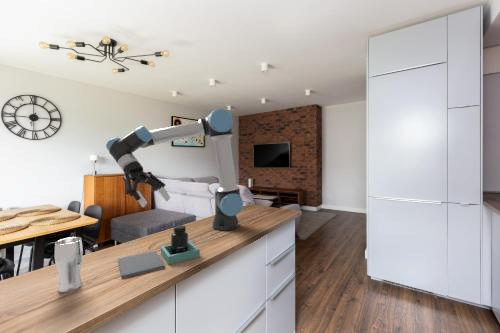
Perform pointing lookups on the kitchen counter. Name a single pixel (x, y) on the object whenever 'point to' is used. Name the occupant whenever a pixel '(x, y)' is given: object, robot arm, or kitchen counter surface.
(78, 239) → the beer glass
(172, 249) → the supplement bottle
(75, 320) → the kitchen counter surface
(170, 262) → the teal collar
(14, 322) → the kitchen counter surface
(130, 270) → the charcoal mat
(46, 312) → the kitchen counter surface
